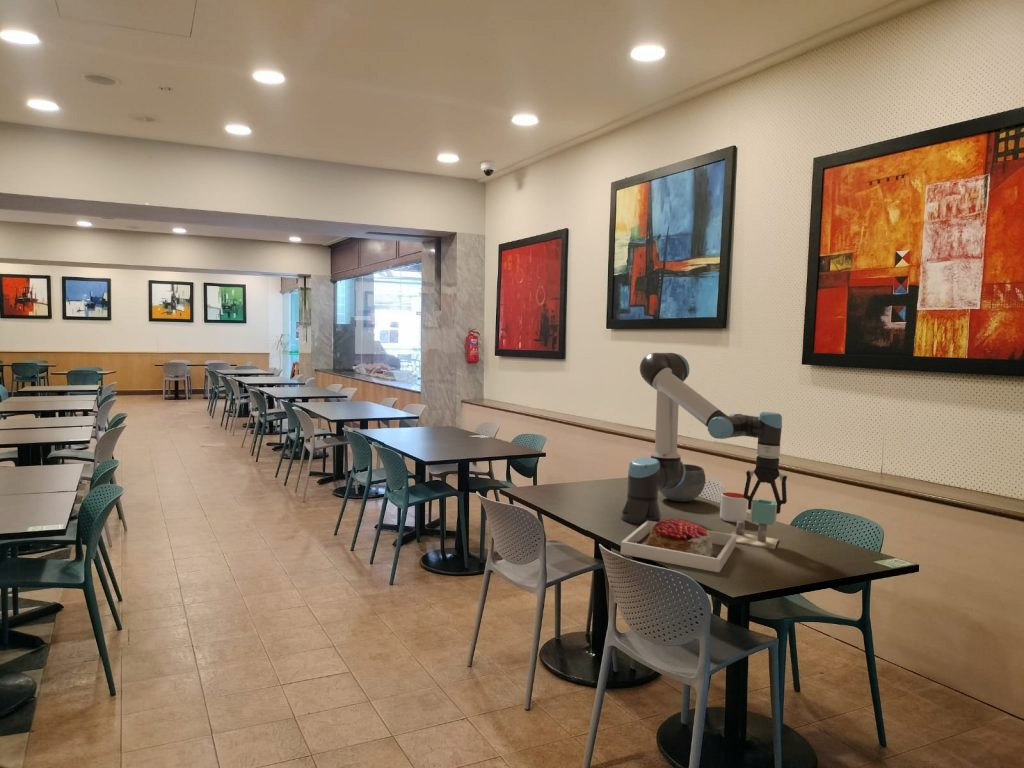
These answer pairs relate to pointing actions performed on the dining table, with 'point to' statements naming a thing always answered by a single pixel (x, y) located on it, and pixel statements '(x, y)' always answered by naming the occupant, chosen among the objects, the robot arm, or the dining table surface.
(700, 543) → the cake
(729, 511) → the cup
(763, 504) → the mint green cube
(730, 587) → the dining table surface
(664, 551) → the cake tray
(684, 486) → the bowl
